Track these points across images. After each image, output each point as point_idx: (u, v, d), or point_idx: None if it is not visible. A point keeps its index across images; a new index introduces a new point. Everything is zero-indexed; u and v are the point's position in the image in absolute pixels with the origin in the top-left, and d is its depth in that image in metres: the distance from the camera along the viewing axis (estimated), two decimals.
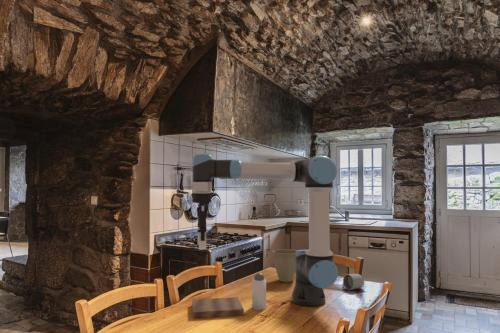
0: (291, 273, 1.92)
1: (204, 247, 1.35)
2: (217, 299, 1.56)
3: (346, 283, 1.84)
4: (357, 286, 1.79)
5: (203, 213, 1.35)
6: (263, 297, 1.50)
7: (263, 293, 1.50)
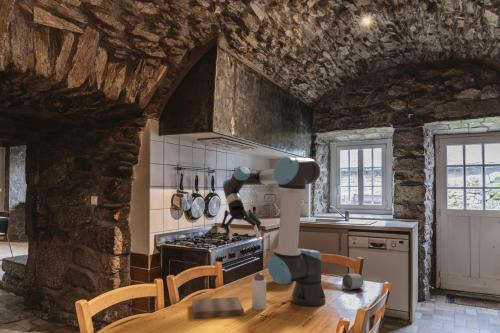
0: None
1: (230, 236, 1.65)
2: (217, 299, 1.56)
3: (345, 283, 1.84)
4: (356, 286, 1.79)
5: (224, 215, 1.74)
6: (263, 297, 1.50)
7: (263, 293, 1.50)
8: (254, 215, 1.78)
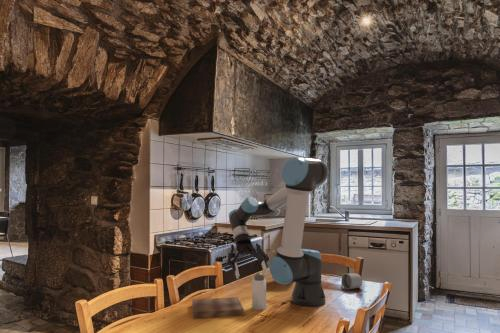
0: None
1: (237, 274, 1.57)
2: (217, 299, 1.56)
3: (345, 282, 1.85)
4: (355, 285, 1.80)
5: None
6: (263, 297, 1.50)
7: (263, 293, 1.50)
8: None
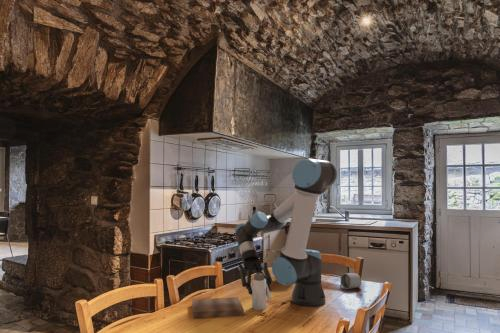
0: None
1: (254, 298, 1.48)
2: (217, 299, 1.56)
3: (344, 282, 1.85)
4: (354, 285, 1.80)
5: (240, 271, 1.57)
6: (263, 297, 1.50)
7: (263, 293, 1.50)
8: None
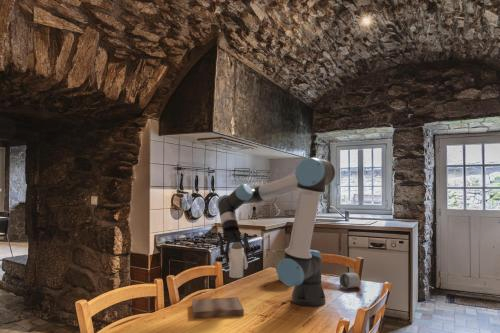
0: None
1: (230, 265, 1.49)
2: (217, 299, 1.56)
3: (343, 282, 1.86)
4: (353, 285, 1.81)
5: (219, 240, 1.58)
6: (240, 265, 1.51)
7: (240, 261, 1.51)
8: (247, 240, 1.60)
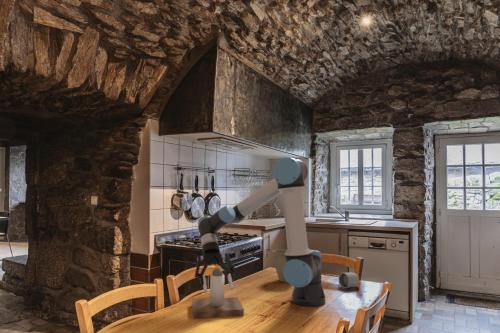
0: None
1: (204, 288, 1.45)
2: None
3: (342, 281, 1.87)
4: (352, 284, 1.82)
5: (197, 262, 1.54)
6: (221, 293, 1.47)
7: (221, 289, 1.47)
8: None
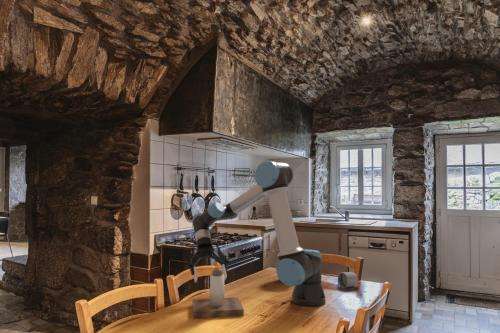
0: None
1: (195, 278, 1.57)
2: None
3: (341, 281, 1.87)
4: (351, 284, 1.82)
5: None
6: (220, 293, 1.47)
7: (221, 289, 1.47)
8: None
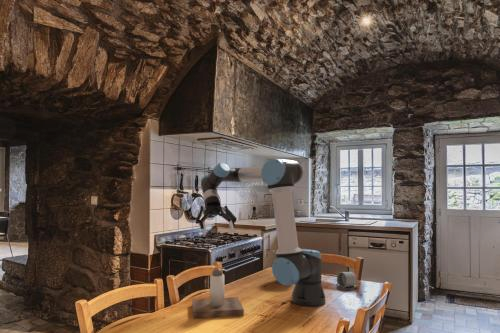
0: None
1: (204, 231, 1.65)
2: None
3: (340, 281, 1.88)
4: (350, 284, 1.83)
5: None
6: (220, 293, 1.47)
7: (221, 289, 1.47)
8: (230, 211, 1.79)
